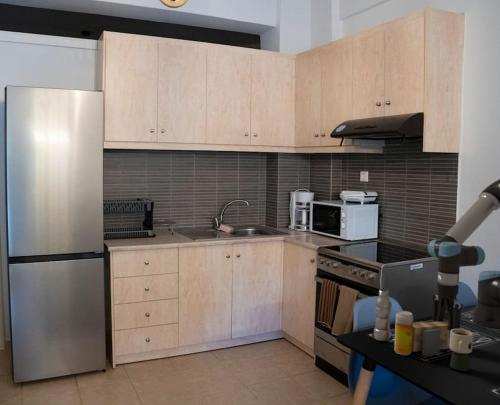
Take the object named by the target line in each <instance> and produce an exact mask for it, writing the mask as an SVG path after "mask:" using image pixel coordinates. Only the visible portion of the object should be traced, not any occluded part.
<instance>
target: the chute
mask: <svg viewBox="0 0 500 405" xmlns="http://www.w3.org/2000/svg"><path fill="white" fill-rule="evenodd" d="M414 323H426V322H425V321H423V320H421V321H413V324H414ZM440 335H441V330H440V329H433V330H425V331H423V341H422V351H421V355H422V354H423V355H424V357H425V356H429V357H433V355H436V356H441V355H440V354H443V353H442V352H441V351H440V350H441V349H440ZM423 355H422V356H423Z"/></svg>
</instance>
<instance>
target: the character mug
mask: <svg viewBox="0 0 500 405" xmlns="http://www.w3.org/2000/svg"><path fill="white" fill-rule="evenodd" d="M473 340H474V333H473V332H472V331H470V330H468V329H464V328H460V329H452V330H451V331H450V346H449V347H450V348H449V349H450V351H451V357H450V362H449V367H450V368H451V369H453V370H458V372H459V371H462V372H468V371H470V357H469V356H470V355H469V354H470V353H472V352H473V345H474V344H473Z"/></svg>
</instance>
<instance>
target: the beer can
mask: <svg viewBox="0 0 500 405" xmlns="http://www.w3.org/2000/svg"><path fill="white" fill-rule="evenodd" d="M413 322H414V316H413V313H412V312H410V311H406V310H399V311H397V312H396V314H395V329H394V352H395V353H396V354H397V355H399V354H400V355H399V356H409V355H410V354H412V352H413V351H412V332H413Z"/></svg>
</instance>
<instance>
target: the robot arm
mask: <svg viewBox="0 0 500 405" xmlns="http://www.w3.org/2000/svg"><path fill="white" fill-rule="evenodd" d="M497 210H500V178H499V179H497V180H495V181H494V182H492V183H490V184H489V185H488V186H487V187H485V188H483V190H482V191H481V192H480V193H479V195H478V199H477V200H476V201H475V202H474V203H473V204H472V206H470V207H469V209H467V210H466V212H464V214H463V215H461V217H460V218H459V219H458V220H457V221H456V223H455V224H454V225H453V226H451V228H449V229H448V231H447V232H446V233H445V234H444V235H443V236H442V237H441V238H440V239H433V240H431V241H430V242H429V244H428V247H427V251H428V254H429V255H430V257H433V258H436V259H438V263H437V264H438V265H437V271H438V272H437V283H436V284H437V285H436V292H437V294H434V295H432V297H431V298H432V321H434V322H441V321H444V318H445V315H447V321H448V326H449V328H447V338H446V346H450V331H451V330H452V329H461V316H462V308H463V304H462V303H460V302H458V299H457V296H458V294H459V287H460V286H459V283H460V271H461V270H460V269H461V268H462V267H464V268H465V267H475V266H479V265H482V264H483V263H484V262H485V260H486V251H484V248H482V247H481V246H479V245H463V244H465V242H466V241H467V240H468V239H469V237H471V235H473V234H474V232H476V230H477V229H478V228H479V227H480V226H481V225H482V223H484V221H486V219H488V217H489V216H490V215H491V214H492V213H493V212H494V211H497ZM476 302H477V303H476V305H475V308H474V311H473V313H472V315H471V321H472V322H473V323H475V324H476V325H479V326H482V327H485V328H486V327H487V328H491V329H493V328H494V329H500V270H482V271H480V272H479V273H478V280H477V301H476ZM445 313H446V314H445ZM452 325H453V326H452Z"/></svg>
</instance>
